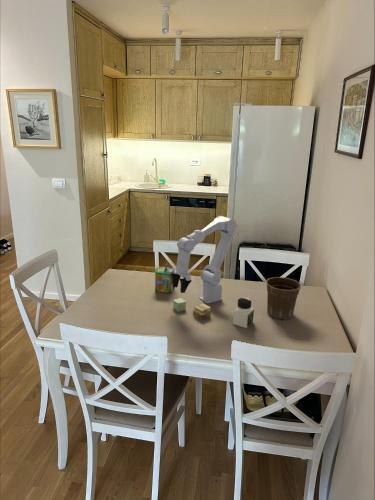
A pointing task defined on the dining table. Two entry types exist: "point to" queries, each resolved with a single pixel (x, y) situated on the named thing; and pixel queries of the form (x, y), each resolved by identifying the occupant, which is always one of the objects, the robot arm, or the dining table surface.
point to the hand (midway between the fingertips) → (178, 289)
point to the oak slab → (202, 309)
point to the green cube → (179, 304)
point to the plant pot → (281, 297)
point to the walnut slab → (201, 315)
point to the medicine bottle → (243, 313)
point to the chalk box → (163, 280)
